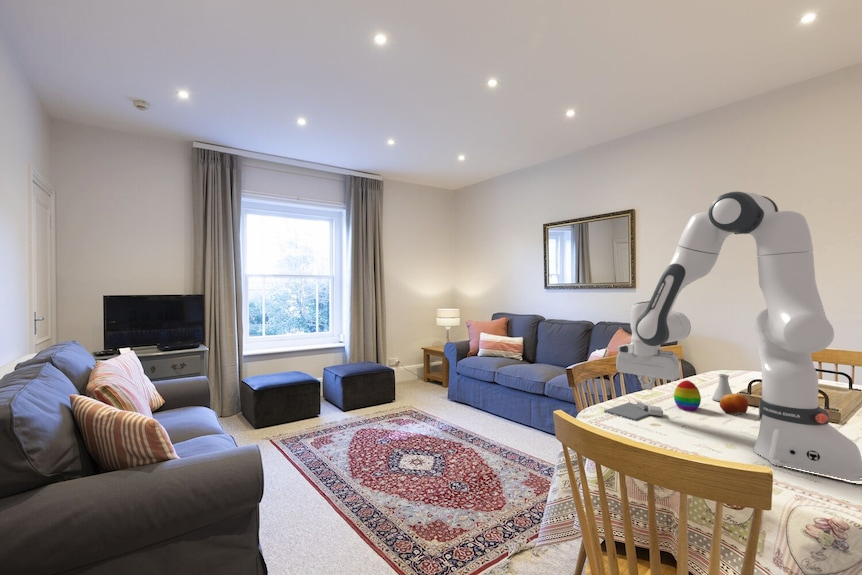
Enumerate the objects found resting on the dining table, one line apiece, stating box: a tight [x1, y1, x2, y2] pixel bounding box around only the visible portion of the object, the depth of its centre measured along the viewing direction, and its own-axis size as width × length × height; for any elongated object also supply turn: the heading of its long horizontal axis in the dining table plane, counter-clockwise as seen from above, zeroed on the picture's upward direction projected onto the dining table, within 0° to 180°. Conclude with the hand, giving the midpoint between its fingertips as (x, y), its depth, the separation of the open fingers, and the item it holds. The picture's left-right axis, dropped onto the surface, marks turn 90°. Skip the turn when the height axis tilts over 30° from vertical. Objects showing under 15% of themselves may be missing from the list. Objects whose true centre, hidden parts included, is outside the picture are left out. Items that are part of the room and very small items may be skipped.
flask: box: [711, 373, 733, 402], centre depth 157 cm, size 7×7×10 cm
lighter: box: [636, 401, 664, 417], centre depth 143 cm, size 7×2×8 cm
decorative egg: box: [673, 380, 702, 411], centre depth 148 cm, size 8×8×10 cm
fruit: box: [719, 393, 749, 417], centre depth 142 cm, size 8×8×8 cm
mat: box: [604, 402, 651, 421], centre depth 144 cm, size 11×16×1 cm
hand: (647, 389), depth 140 cm, fingers closed
